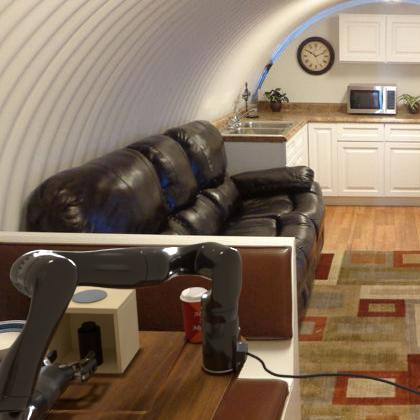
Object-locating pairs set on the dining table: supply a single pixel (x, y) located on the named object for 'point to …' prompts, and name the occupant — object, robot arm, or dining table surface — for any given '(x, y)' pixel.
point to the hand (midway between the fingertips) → (74, 353)
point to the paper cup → (192, 313)
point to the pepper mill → (90, 341)
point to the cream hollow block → (107, 320)
